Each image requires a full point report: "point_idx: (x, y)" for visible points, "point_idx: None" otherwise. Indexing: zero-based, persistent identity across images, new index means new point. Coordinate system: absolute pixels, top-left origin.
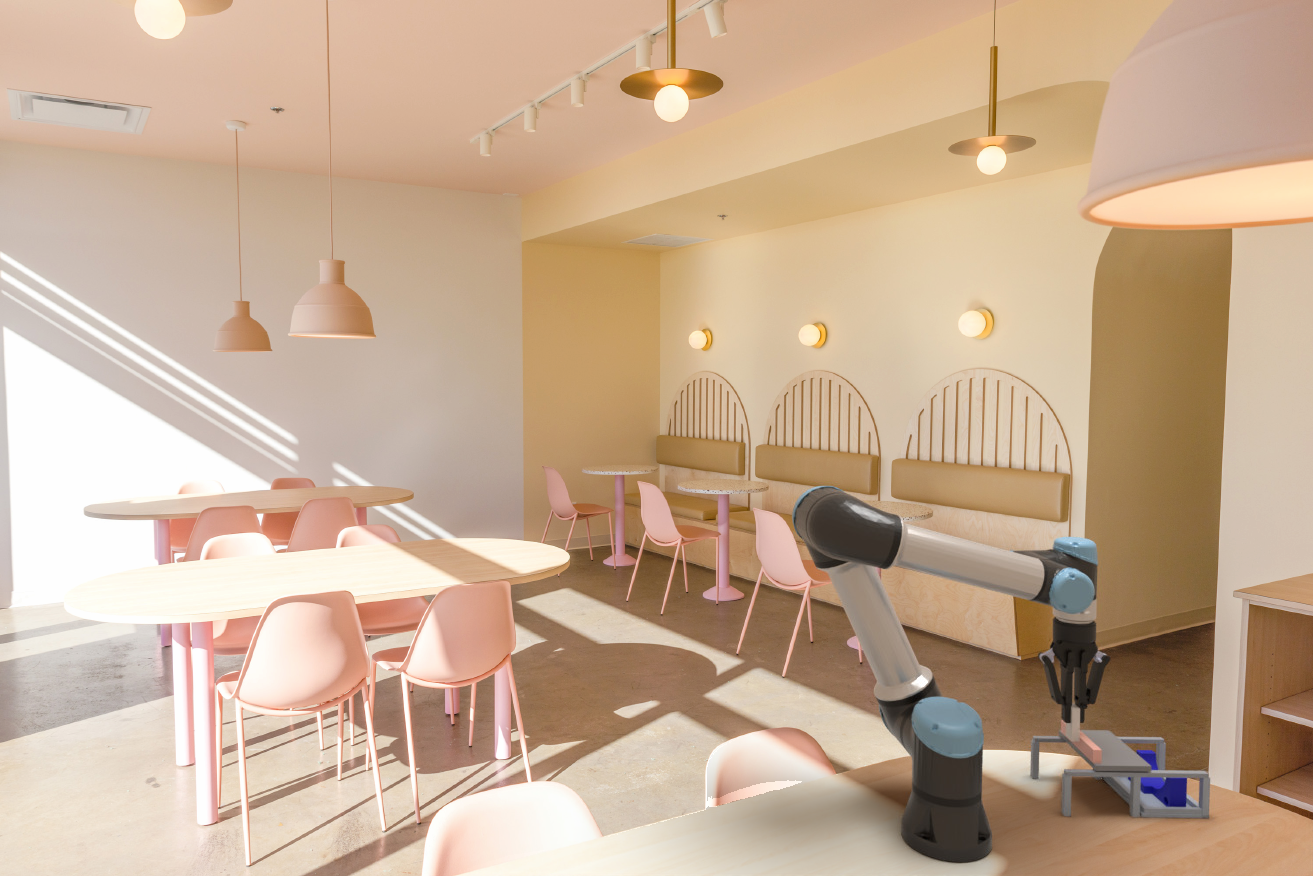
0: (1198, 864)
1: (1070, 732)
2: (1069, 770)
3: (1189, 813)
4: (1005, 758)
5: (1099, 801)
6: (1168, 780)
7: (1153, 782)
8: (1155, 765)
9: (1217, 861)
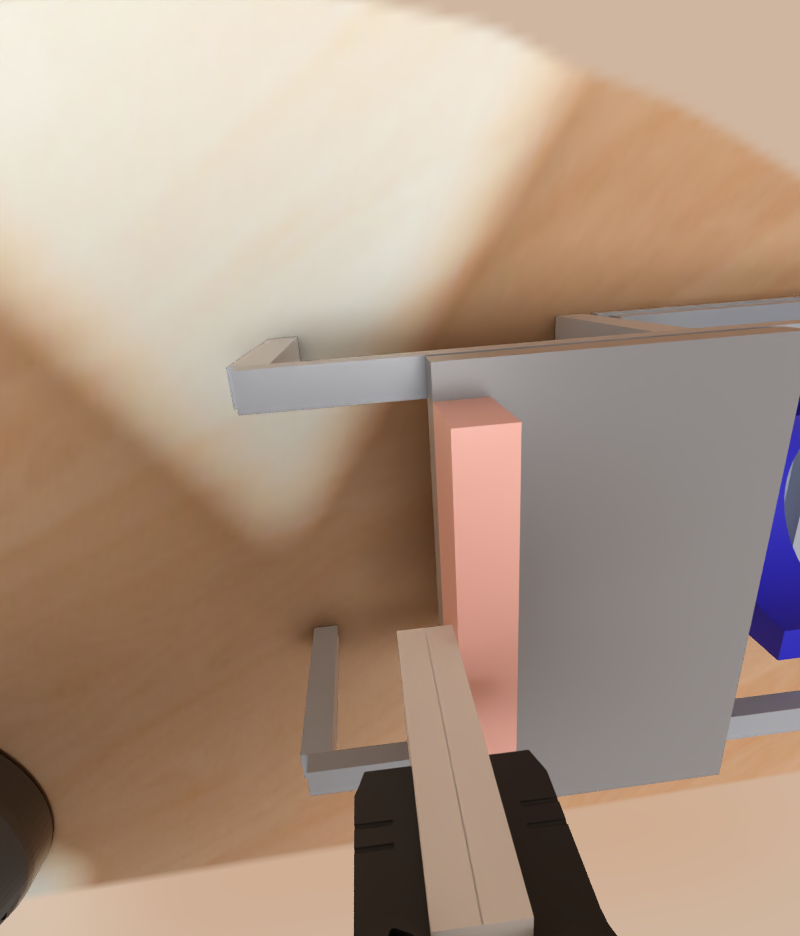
0: (582, 804)
1: (407, 738)
2: (329, 780)
3: None
4: (174, 114)
5: None
6: (766, 636)
7: None
8: None
9: (637, 786)
